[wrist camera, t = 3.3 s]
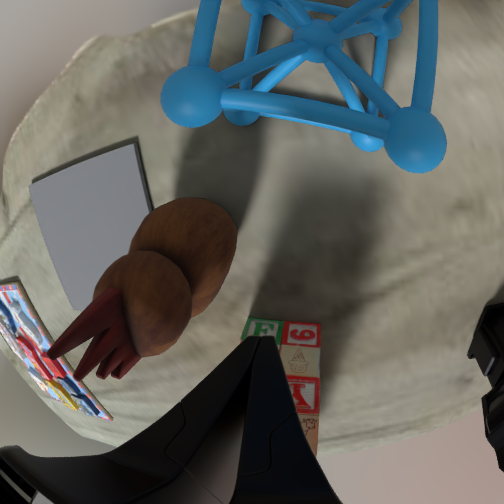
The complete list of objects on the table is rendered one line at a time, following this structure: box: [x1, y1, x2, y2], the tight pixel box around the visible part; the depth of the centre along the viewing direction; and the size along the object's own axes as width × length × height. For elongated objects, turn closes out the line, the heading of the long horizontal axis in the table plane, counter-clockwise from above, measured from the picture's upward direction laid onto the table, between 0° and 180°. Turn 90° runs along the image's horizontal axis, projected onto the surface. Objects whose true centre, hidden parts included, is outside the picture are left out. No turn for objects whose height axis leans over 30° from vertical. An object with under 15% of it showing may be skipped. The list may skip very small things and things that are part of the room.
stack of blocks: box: [240, 317, 321, 457], centre depth 22 cm, size 21×6×12 cm, turn 0°
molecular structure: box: [161, 0, 447, 173], centre depth 10 cm, size 10×10×10 cm
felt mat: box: [29, 143, 152, 311], centre depth 23 cm, size 15×15×1 cm
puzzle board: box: [0, 281, 113, 422], centre depth 37 cm, size 30×23×3 cm
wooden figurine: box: [47, 198, 237, 382], centre depth 14 cm, size 7×6×15 cm
